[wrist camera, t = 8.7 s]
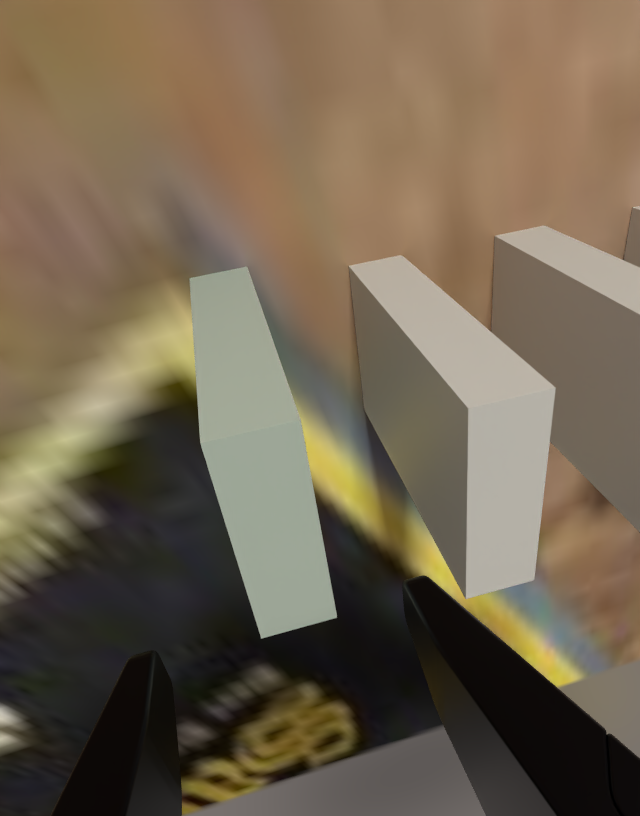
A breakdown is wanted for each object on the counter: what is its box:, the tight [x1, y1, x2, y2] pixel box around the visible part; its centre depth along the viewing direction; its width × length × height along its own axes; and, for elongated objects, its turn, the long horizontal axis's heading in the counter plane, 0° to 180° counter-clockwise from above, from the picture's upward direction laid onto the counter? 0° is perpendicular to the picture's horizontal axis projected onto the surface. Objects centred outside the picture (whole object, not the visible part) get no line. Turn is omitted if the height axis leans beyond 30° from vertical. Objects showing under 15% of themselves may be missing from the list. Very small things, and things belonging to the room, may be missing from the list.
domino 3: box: [491, 226, 640, 532], centre depth 15 cm, size 5×2×8 cm, turn 8°
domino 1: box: [190, 267, 337, 639], centre depth 13 cm, size 5×2×8 cm, turn 8°
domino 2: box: [349, 255, 556, 599], centre depth 14 cm, size 5×2×8 cm, turn 8°
